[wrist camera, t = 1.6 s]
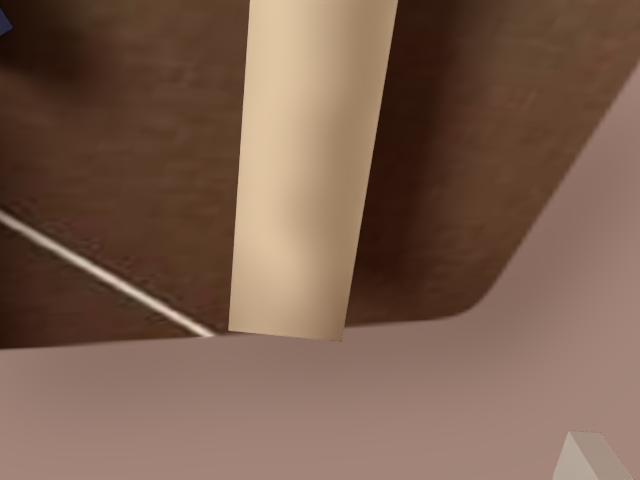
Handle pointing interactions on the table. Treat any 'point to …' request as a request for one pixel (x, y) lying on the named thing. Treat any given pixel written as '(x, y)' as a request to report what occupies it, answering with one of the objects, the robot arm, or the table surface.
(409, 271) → the table surface
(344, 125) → the beige and orange block
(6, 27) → the walkman
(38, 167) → the table surface
